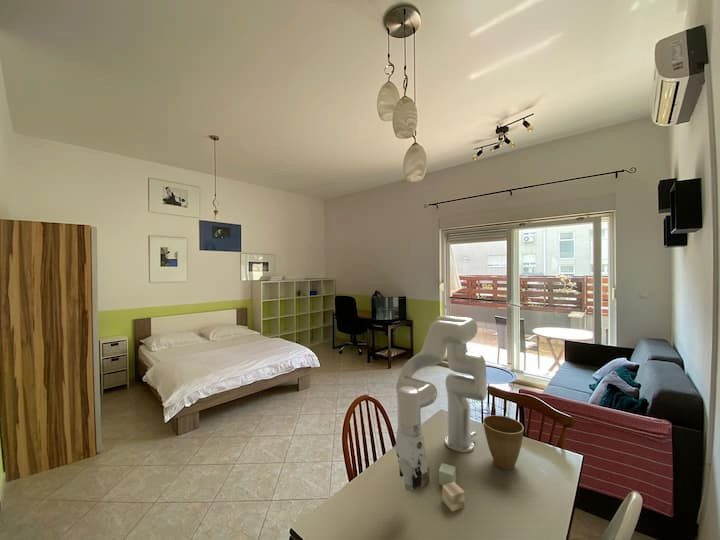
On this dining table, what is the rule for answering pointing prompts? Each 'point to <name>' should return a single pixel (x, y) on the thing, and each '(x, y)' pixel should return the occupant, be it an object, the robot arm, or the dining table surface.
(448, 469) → the sage cube
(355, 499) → the dining table surface
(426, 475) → the walnut cube
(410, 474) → the lightbulb
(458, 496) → the beech cube
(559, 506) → the dining table surface
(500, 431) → the plant pot
